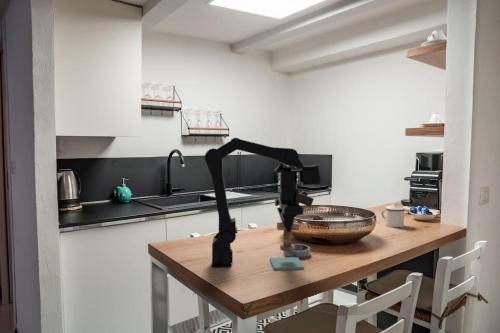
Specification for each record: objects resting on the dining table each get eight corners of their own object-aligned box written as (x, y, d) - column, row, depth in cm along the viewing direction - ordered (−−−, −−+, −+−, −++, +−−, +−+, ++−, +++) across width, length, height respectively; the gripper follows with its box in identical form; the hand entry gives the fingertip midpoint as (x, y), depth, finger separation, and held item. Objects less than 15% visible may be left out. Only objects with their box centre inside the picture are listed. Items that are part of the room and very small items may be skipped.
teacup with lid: (407, 226, 178) (408, 203, 177) (397, 228, 172) (398, 205, 171) (386, 222, 187) (387, 200, 186) (376, 224, 182) (376, 201, 181)
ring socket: (286, 258, 127) (286, 251, 127) (281, 250, 137) (281, 244, 137) (312, 257, 128) (312, 251, 128) (306, 249, 137) (306, 243, 137)
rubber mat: (273, 270, 115) (273, 267, 115) (269, 260, 125) (269, 257, 125) (304, 269, 116) (304, 266, 116) (297, 259, 126) (297, 257, 126)
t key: (295, 246, 125) (296, 221, 124) (299, 251, 120) (299, 224, 119) (276, 247, 124) (276, 221, 124) (278, 251, 119) (278, 225, 119)
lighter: (327, 238, 155) (327, 215, 154) (323, 239, 152) (323, 216, 152) (311, 235, 160) (311, 213, 160) (307, 236, 158) (307, 214, 157)
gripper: (319, 188, 112) (318, 237, 113) (304, 182, 131) (303, 224, 132) (284, 188, 111) (284, 237, 112) (274, 182, 130) (274, 224, 131)
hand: (287, 230), depth 122 cm, fingers closed on t key, 3 cm apart
